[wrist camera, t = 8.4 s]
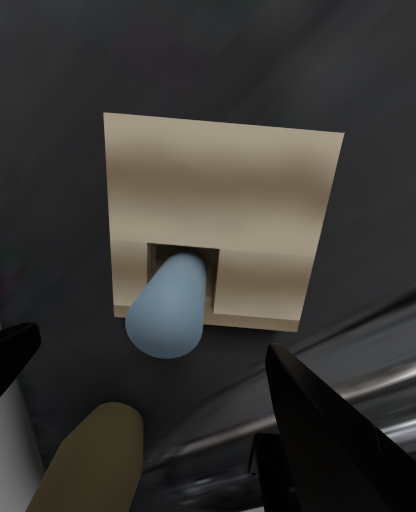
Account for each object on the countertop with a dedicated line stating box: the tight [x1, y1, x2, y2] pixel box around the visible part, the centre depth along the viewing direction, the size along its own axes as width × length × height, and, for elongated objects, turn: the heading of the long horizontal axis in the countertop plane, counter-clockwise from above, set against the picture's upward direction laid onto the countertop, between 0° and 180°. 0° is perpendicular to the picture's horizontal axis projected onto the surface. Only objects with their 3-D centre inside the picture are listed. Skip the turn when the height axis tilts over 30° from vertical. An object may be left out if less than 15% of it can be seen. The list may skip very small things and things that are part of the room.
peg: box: [125, 248, 207, 359], centre depth 13 cm, size 4×4×8 cm
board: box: [104, 113, 344, 332], centre depth 15 cm, size 14×14×3 cm
